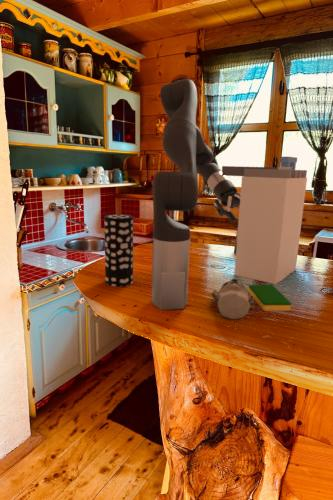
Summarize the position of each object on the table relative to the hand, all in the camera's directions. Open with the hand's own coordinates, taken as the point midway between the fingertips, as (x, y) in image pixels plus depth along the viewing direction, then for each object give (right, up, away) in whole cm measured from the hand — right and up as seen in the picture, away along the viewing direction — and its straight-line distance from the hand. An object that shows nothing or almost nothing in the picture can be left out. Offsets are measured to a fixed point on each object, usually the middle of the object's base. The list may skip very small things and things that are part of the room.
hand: (245, 217), depth 118 cm
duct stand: (+7, -19, -2) cm, 20 cm away
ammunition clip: (+6, -13, +24) cm, 28 cm away
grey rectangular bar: (+1, +12, -10) cm, 16 cm away
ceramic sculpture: (-11, -27, -33) cm, 44 cm away
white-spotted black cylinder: (-42, -21, -15) cm, 49 cm away
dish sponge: (0, -25, -26) cm, 36 cm away
